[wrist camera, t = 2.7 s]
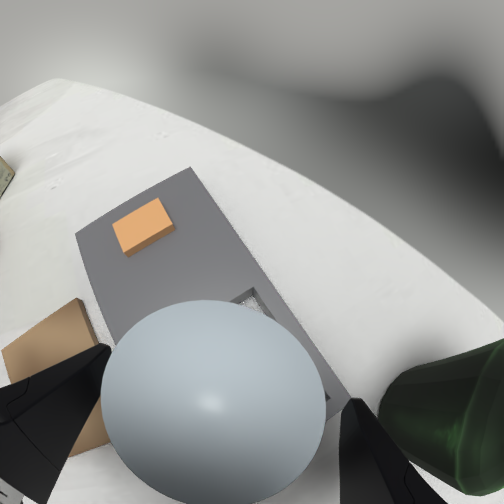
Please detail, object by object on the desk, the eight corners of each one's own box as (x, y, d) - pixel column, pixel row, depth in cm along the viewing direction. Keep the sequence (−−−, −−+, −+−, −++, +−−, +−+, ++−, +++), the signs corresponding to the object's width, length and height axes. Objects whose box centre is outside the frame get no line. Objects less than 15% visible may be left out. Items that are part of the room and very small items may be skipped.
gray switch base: (342, 397, 15) (358, 401, 13) (210, 475, 13) (205, 492, 11) (194, 182, 21) (188, 159, 19) (87, 244, 19) (69, 228, 17)
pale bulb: (300, 392, 16) (397, 433, 5) (219, 440, 14) (176, 550, 3) (247, 315, 17) (251, 225, 6) (168, 363, 16) (45, 348, 5)
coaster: (143, 427, 14) (138, 429, 13) (53, 461, 12) (47, 463, 11) (82, 300, 17) (76, 297, 17) (7, 351, 15) (1, 350, 14)
